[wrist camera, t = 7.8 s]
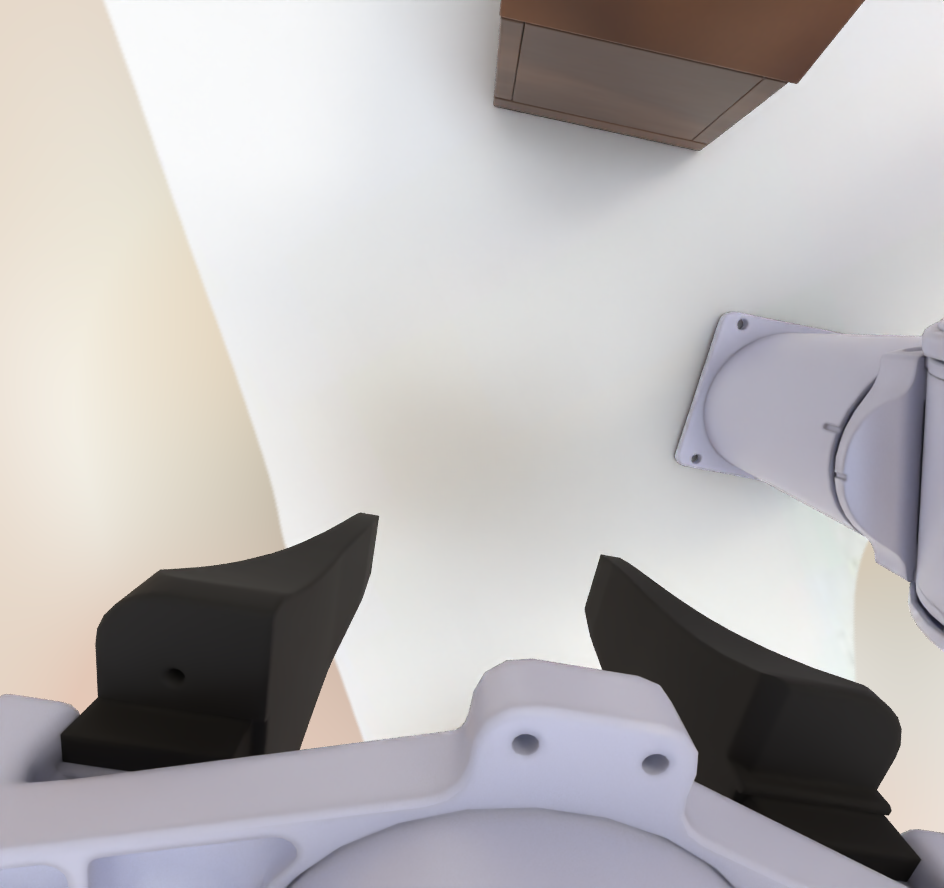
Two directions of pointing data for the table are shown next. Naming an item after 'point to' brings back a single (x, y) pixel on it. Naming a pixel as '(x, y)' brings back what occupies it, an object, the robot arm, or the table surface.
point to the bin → (621, 86)
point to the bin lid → (704, 28)
